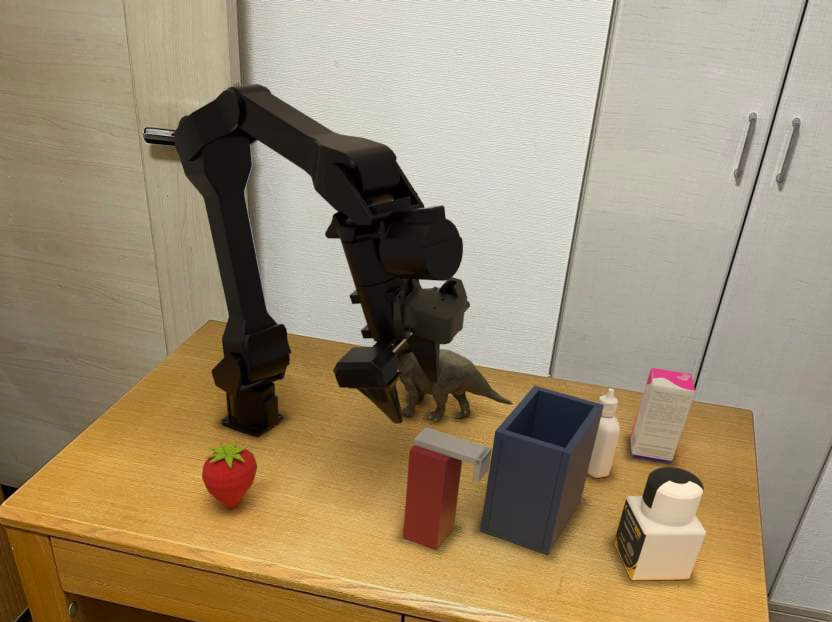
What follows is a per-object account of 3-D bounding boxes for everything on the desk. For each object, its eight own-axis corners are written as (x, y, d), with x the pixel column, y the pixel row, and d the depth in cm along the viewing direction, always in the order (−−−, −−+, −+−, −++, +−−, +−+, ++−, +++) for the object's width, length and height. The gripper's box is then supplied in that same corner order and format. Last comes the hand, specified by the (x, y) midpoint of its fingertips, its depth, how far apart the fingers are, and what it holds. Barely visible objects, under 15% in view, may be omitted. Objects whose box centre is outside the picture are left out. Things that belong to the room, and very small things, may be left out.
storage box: (479, 531, 98) (495, 430, 89) (517, 480, 107) (534, 385, 98) (548, 555, 95) (570, 453, 86) (580, 501, 104) (604, 404, 95)
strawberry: (269, 497, 101) (266, 428, 95) (236, 530, 95) (230, 459, 89) (229, 484, 103) (223, 416, 96) (194, 515, 97) (185, 445, 91)
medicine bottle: (612, 542, 98) (636, 459, 90) (668, 542, 98) (696, 459, 91) (630, 581, 92) (657, 496, 85) (689, 580, 93) (721, 496, 85)
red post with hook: (402, 537, 96) (409, 442, 88) (421, 516, 100) (429, 423, 91) (464, 560, 93) (477, 464, 85) (480, 537, 97) (495, 443, 89)
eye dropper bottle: (607, 459, 113) (627, 382, 105) (608, 481, 108) (629, 402, 101) (576, 454, 113) (593, 377, 106) (576, 476, 109) (594, 397, 101)
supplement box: (672, 464, 112) (696, 391, 105) (630, 458, 113) (650, 385, 106) (670, 443, 117) (692, 372, 110) (629, 437, 118) (648, 366, 110)
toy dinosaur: (513, 423, 119) (524, 353, 112) (486, 447, 113) (497, 375, 106) (389, 380, 127) (392, 312, 120) (358, 400, 122) (360, 330, 115)
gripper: (402, 311, 76) (442, 449, 85) (482, 233, 87) (509, 362, 96) (309, 316, 81) (356, 444, 91) (396, 242, 93) (429, 363, 102)
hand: (416, 401), depth 95 cm, fingers open, 9 cm apart
